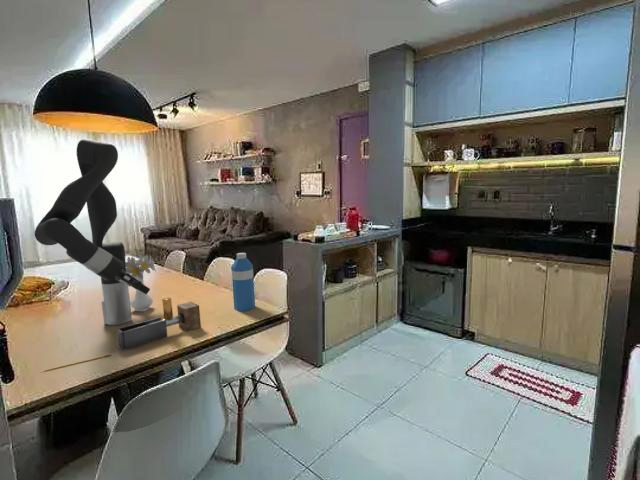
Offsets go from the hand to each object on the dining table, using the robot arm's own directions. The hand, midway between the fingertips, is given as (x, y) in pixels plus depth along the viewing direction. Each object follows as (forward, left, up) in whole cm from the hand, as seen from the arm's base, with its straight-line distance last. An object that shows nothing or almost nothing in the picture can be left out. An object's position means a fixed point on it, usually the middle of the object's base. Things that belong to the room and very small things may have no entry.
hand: (143, 289), depth 122 cm
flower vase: (-19, +34, -19) cm, 43 cm away
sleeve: (-1, -1, -19) cm, 19 cm away
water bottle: (+28, +32, -19) cm, 47 cm away
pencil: (-15, -16, -19) cm, 29 cm away
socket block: (+11, +11, -19) cm, 24 cm away
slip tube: (+6, +6, -16) cm, 18 cm away
